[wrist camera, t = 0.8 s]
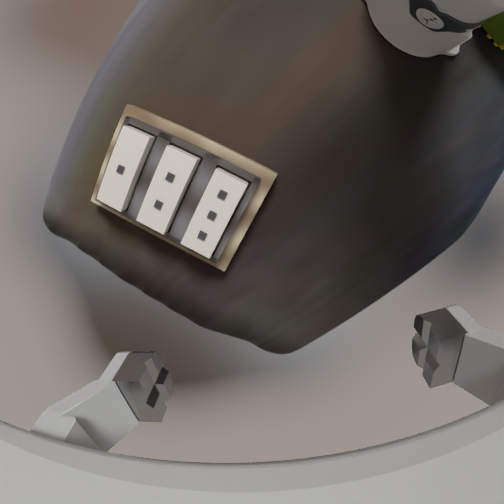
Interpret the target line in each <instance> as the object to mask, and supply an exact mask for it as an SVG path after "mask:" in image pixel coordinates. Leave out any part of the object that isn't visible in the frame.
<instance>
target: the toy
mask: <svg viewBox="0 0 504 504" xmlns="http://www.w3.org/2000/svg"><path fill="white" fill-rule="evenodd" d="M479 27H482V28H483V29H484V30H485V31H486V32H487V35H486V36H487V37H488V38H489V39H491V38H492V39H493V40H494V42H493V44H494V45H495V46H496V47H497V46H499V47H500V49H501V50H503V49H504V12H501V13H499V14H497V15H494V16H492V17H490V18H487V19H486V21H485V22H484V23H483V24H482V25H480V26H479Z"/></svg>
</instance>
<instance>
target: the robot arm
mask: <svg viewBox="0 0 504 504" xmlns="http://www.w3.org/2000/svg"><path fill="white" fill-rule="evenodd" d="M365 1H366V3H367V6H368V10H369V14H370V16H371V19H372V21H373V23H374V25H375V26H376V28H377V29H378V31H379V32H380V33H381V34H382V35H383V36H384V38H386V39H387V40H388V41H389V42H390V43H391V44H392V45H394V46H395V47H397V48H398V49H400V50H402V51H404V52H406V53H408V54H411V55H414V56H418V57H432V56H435V55H439V54H444V55H449V56H455V55H456V54H458V52H459V47H460V44H462V43H464V42H465V41H467V40H469V39H470V38H471V37H472V30H474V29H476V28H478V27H479V26H480V25H482V24H483V23H484V22H485V21H486V19H487V18H490V17H492V16H494V15H497V14H499V13H501V12H504V0H365ZM414 328H415V329H416V331H417V333H416V334H415V336H414V337H413V339H412V352H413V357H414V360H415V362H416V364H417V366H419V367H421V368H423V374H422V375H423V377H424V379H425V380H426V382H427V384H428V386H429V387H430V388H432V387H436V386H440V385H443V384H446V383H449V382H452V381H453V383H455V384H456V385H458V386H459V387H461V388H463V389H464V390H466V391H468V392H469V393H471V394H472V395H474V396H476V397H477V398H479V399H480V400H482V401H484V402H485V403H487V404H488V405H490V406H488V407H486V408H484V409H482V410H480V411H477V412H475V413H473V414H470V415H468V416H466V417H463V418H461V419H458V420H456V421H453V422H451V423H448V424H445V425H443V426H440V427H437V428H434V429H431V430H428V431H425V432H422V433H419V434H416V435H413V436H410V437H406V438H403V439H399V440H396V441H392V442H388V443H384V444H380V445H376V446H372V447H367V448H363V449H358V450H353V451H348V452H343V453H337V454H331V455H325V456H318V457H311V458H304V459H294V460H284V461H271V462H253V463H199V462H181V461H168V460H157V459H150V458H142V457H134V456H128V455H122V454H116V453H110V452H107V451H108V450H109V449H110V448H112V446H114V445H115V444H116V443H117V442H118V441H119V440H120V439H121V438H123V437H124V436H125V435H126V434H127V433H128V432H129V431H130V430H131V429H132V428H133V427H135V426H136V425H137V424H138V421H145V422H146V421H147V422H162V419H163V416H164V414H165V411H166V408H167V407H166V405H165V402H166V401H167V400H168V399H170V398H171V394H172V389H173V383H172V378H171V376H170V373H169V371H167V370H166V369H165V368H163V364H164V360H163V357H162V355H161V353H159V352H157V351H154V352H153V351H151V352H119V353H117V354H116V355H115V357H114V358H113V360H112V361H111V363H110V364H109V365H108V367H107V368H106V370H105V371H104V373H103V374H102V376H101V377H100V379H99V380H95V381H93V382H91V383H90V384H88V385H86V386H85V387H83V388H81V389H80V390H78V391H76V392H75V393H73V394H71V395H69V396H68V397H67V398H64V399H63V400H61V401H59V402H58V403H56V404H54V405H52V406H51V407H49V408H47V409H46V410H45V411H44V412H43V414H42V415H41V416H40V418H39V419H38V420H37V422H36V423H35V425H34V426H33V428H32V429H31V430H30V431H27V430H24V429H21V428H19V427H16V426H13V425H11V424H8V423H6V422H3V421H0V504H504V333H501V332H498V331H495V330H492V329H489V328H486V327H485V328H481V327H480V326H479V325H478V324H477V323H476V322H475V321H474V320H473V319H472V318H471V317H470V316H469V315H468V314H467V313H466V312H465V311H464V310H463V309H462V308H461V307H460V306H459V305H457V304H454V305H451V306H447V307H444V308H442V309H438V310H435V311H431V312H428V313H424V314H420V315H416V317H415V321H414Z"/></svg>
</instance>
